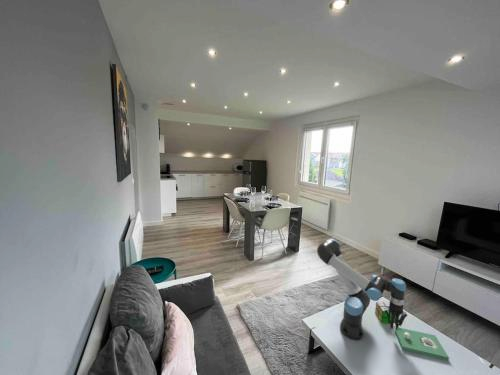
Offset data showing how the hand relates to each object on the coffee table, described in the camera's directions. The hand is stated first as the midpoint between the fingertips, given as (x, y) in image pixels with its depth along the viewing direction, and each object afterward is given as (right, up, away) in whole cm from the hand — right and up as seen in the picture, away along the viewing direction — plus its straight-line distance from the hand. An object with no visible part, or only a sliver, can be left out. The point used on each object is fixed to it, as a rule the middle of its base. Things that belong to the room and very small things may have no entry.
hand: (393, 332), depth 142 cm
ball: (+8, 0, -2) cm, 8 cm away
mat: (+14, -5, -4) cm, 16 cm away
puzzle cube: (+6, -1, +18) cm, 19 cm away
